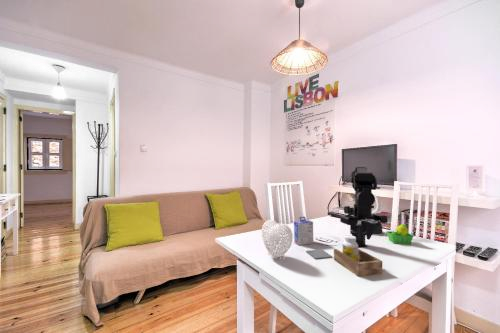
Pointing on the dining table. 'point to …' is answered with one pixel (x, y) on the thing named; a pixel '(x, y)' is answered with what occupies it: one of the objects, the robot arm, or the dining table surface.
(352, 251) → the pill bottle
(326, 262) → the dining table surface
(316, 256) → the coaster
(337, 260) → the shelf bay
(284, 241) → the decorative heart
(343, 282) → the dining table surface
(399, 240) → the fruit basket
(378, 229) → the hook
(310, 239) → the ink cartridge box
